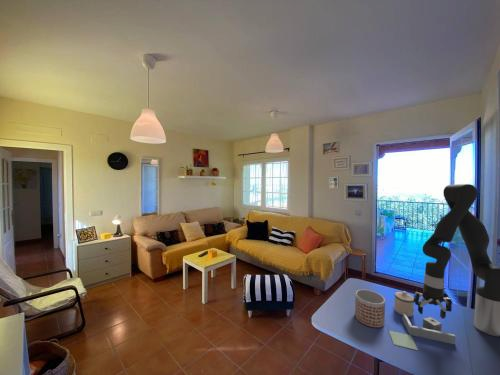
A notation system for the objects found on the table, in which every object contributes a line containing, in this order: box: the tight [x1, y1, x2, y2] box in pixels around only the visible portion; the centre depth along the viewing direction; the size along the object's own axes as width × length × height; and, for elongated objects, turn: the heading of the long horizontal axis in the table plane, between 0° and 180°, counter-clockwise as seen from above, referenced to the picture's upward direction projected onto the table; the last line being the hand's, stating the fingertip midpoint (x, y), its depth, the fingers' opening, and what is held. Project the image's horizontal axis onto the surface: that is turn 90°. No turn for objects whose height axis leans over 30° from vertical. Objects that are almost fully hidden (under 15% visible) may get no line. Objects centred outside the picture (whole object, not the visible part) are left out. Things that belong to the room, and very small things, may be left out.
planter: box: [354, 288, 386, 329], centre depth 112 cm, size 14×14×13 cm
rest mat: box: [388, 330, 419, 351], centre depth 97 cm, size 9×9×1 cm
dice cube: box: [422, 316, 443, 332], centre depth 103 cm, size 5×5×5 cm
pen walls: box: [402, 313, 457, 345], centre depth 103 cm, size 17×11×4 cm, turn 69°
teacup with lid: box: [394, 290, 415, 318], centre depth 119 cm, size 12×9×12 cm
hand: (431, 315), depth 104 cm, fingers open, 8 cm apart
